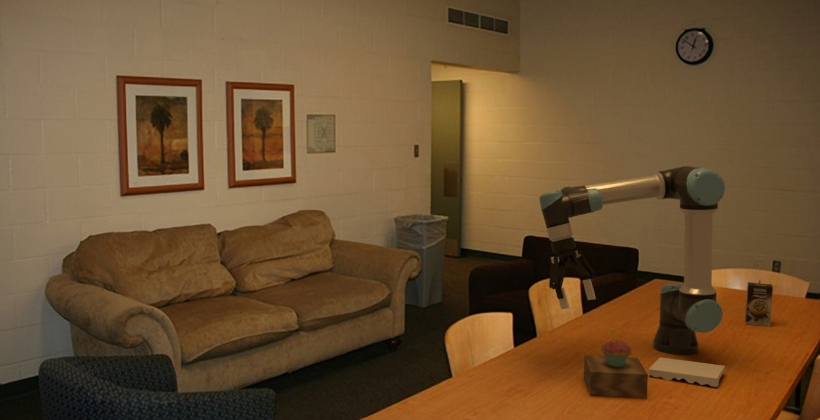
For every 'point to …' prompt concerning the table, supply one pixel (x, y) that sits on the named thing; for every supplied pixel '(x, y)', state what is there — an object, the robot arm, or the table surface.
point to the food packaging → (687, 371)
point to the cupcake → (616, 352)
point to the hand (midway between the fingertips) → (578, 304)
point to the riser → (615, 378)
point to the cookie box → (758, 304)
